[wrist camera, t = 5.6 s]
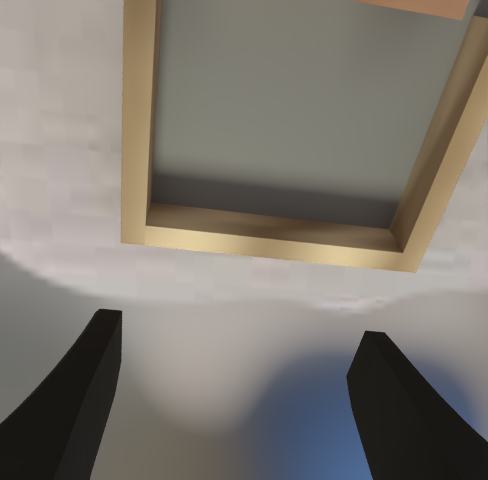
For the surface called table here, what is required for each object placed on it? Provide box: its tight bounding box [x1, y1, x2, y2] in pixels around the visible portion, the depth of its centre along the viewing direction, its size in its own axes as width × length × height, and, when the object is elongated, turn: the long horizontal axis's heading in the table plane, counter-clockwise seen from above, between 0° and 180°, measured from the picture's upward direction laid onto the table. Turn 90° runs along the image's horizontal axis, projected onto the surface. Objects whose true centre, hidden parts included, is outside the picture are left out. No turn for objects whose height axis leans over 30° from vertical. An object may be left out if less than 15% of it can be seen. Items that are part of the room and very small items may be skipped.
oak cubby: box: [121, 0, 488, 273], centre depth 18 cm, size 13×10×2 cm
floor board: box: [151, 0, 488, 229], centre depth 18 cm, size 15×16×1 cm
